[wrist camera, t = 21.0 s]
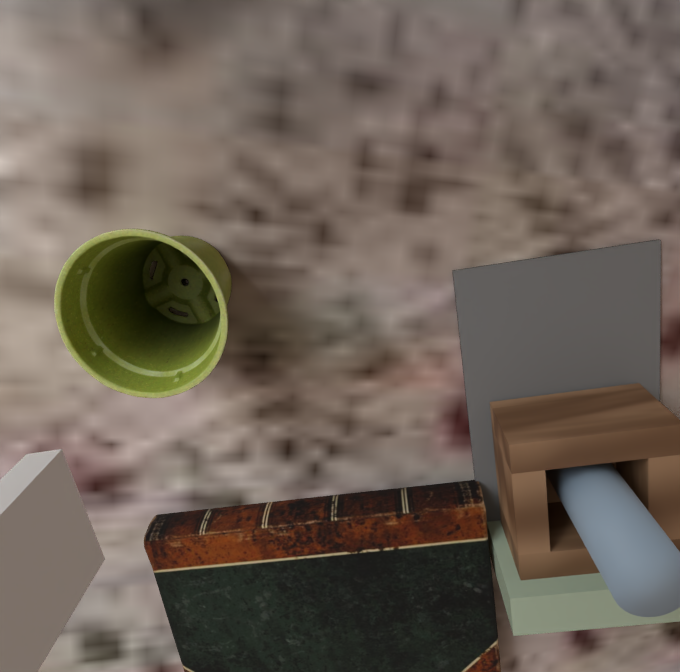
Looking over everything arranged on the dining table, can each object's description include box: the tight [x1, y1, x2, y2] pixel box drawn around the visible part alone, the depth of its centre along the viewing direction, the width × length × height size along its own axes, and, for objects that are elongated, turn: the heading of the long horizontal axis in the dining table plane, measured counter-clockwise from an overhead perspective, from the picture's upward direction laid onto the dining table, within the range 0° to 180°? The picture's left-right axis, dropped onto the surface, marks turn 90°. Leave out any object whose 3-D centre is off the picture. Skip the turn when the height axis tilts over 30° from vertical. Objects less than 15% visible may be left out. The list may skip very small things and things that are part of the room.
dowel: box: [545, 463, 680, 617], centre depth 35 cm, size 4×4×12 cm
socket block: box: [490, 383, 680, 580], centre depth 38 cm, size 10×10×6 cm
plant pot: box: [54, 229, 232, 398], centre depth 35 cm, size 9×9×9 cm
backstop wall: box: [487, 520, 680, 636], centre depth 40 cm, size 3×12×8 cm, turn 99°
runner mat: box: [453, 240, 661, 522], centre depth 40 cm, size 20×13×1 cm, turn 9°
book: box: [144, 480, 501, 672], centre depth 46 cm, size 17×4×25 cm
